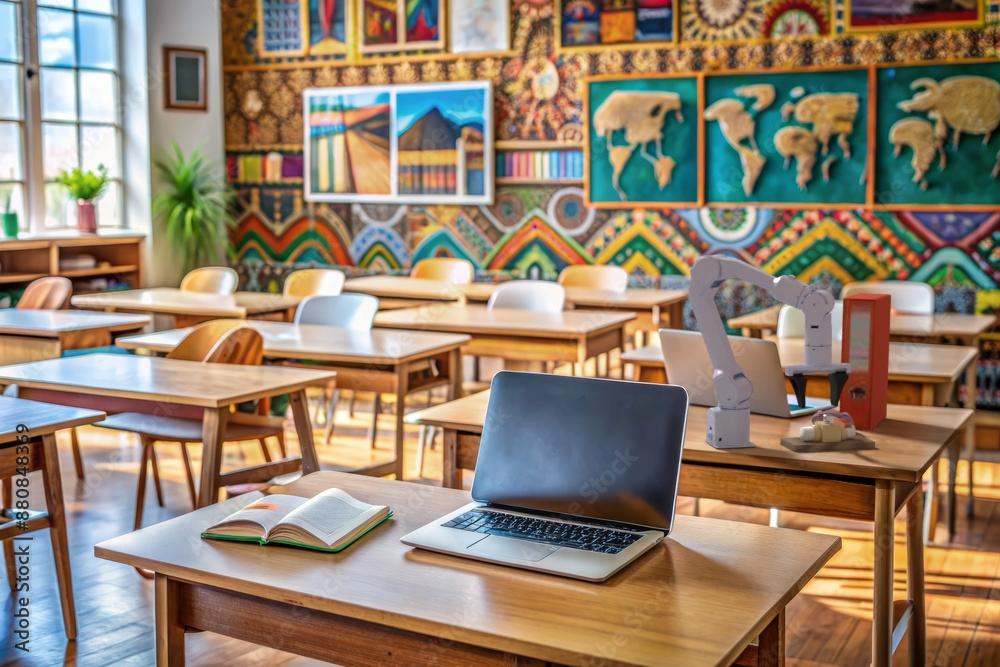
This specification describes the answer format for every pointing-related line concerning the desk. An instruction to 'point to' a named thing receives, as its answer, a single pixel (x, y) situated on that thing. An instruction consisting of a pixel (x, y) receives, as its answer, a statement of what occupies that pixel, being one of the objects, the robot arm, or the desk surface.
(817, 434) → the pipe valve
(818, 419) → the video game controller
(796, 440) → the board
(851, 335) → the file binder
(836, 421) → the valve lever
